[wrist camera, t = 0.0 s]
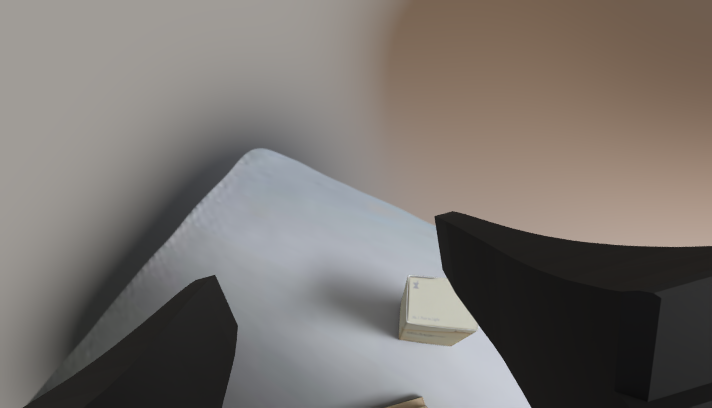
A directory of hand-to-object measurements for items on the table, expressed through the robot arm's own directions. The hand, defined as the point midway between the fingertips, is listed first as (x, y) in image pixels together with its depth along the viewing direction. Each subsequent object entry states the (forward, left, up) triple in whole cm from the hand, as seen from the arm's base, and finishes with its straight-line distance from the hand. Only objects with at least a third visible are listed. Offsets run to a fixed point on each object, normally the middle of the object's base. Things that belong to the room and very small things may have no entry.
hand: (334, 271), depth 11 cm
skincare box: (+1, -7, -32) cm, 33 cm away
